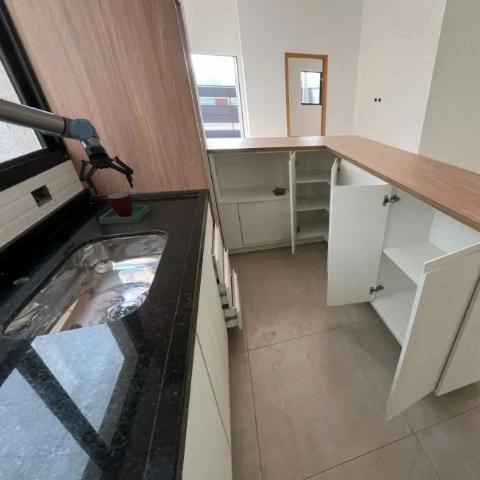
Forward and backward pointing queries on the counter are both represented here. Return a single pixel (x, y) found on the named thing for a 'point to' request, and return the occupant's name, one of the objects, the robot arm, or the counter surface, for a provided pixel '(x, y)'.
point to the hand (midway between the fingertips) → (115, 189)
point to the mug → (121, 204)
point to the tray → (136, 215)
